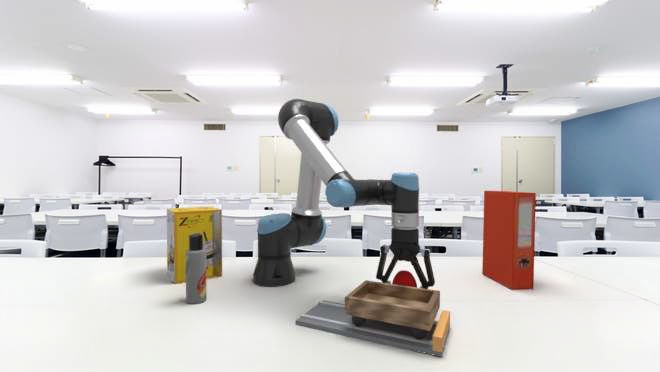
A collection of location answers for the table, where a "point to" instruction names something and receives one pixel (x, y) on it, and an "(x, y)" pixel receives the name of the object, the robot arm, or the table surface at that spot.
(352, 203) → the robot arm
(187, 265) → the lotion bottle
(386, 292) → the tray
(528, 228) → the file binder
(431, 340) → the track
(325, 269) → the table surface
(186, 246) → the packaging box
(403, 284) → the light bulb
